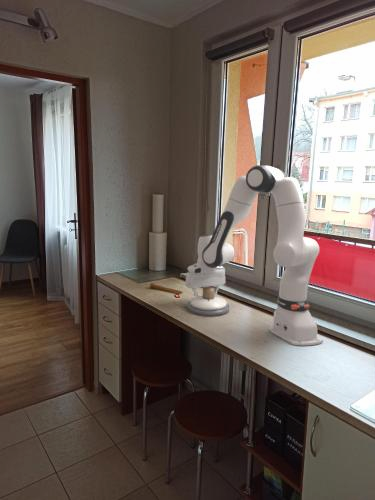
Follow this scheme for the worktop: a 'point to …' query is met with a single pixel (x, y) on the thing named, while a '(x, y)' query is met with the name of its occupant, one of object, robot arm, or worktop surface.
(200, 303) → the dial
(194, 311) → the base
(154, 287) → the primitive tool
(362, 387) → the worktop surface
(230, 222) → the robot arm
